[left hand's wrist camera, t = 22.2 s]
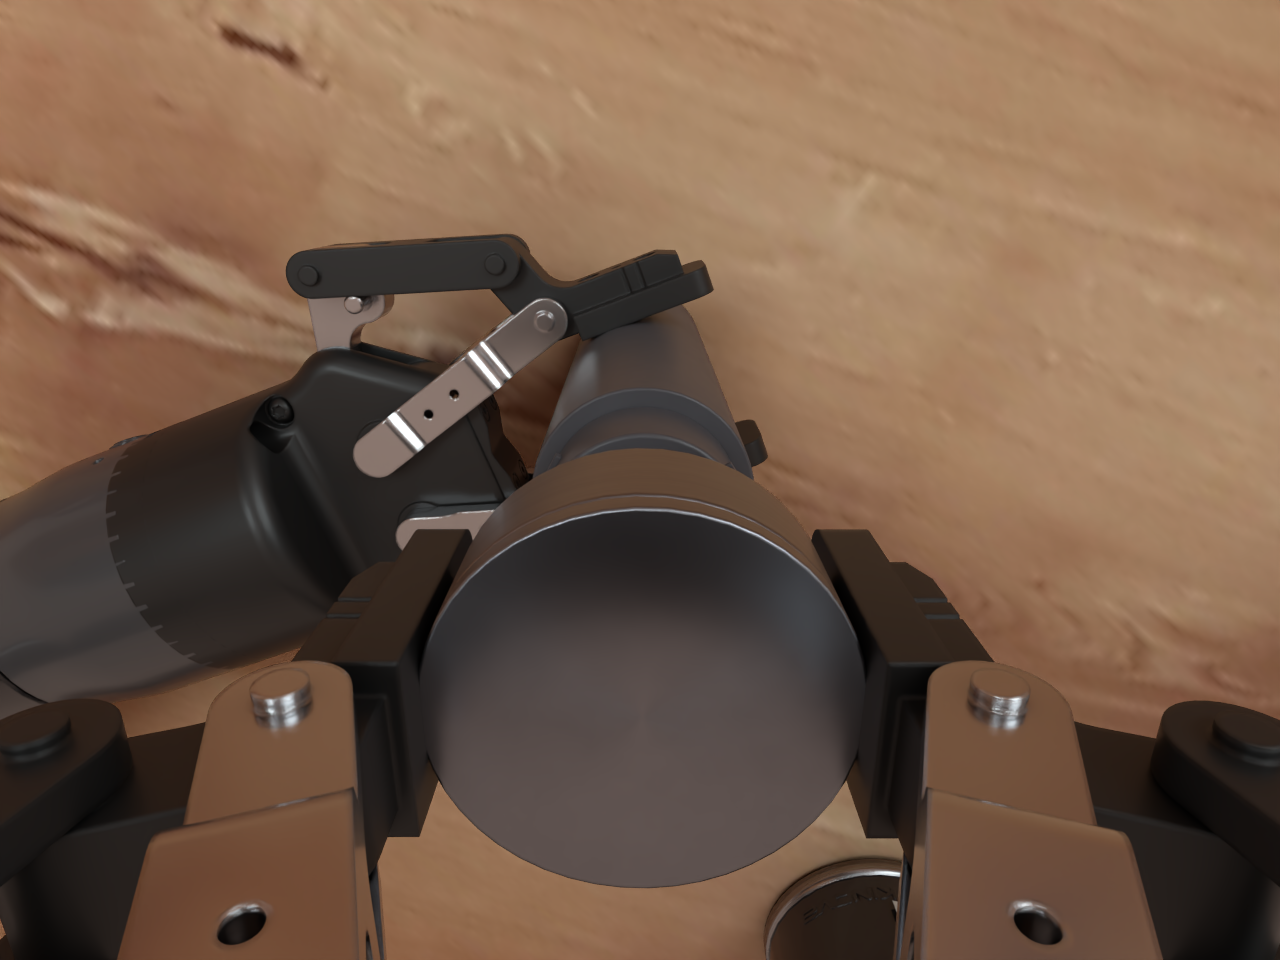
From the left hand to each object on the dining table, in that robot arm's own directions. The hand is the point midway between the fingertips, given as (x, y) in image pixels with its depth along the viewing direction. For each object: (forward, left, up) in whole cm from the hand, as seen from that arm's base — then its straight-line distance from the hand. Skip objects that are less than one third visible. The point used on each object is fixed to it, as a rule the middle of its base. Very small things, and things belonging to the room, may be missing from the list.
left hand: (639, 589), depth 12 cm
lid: (0, 0, +3) cm, 3 cm away
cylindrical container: (0, 0, -18) cm, 18 cm away
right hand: (0, -3, -12) cm, 12 cm away
